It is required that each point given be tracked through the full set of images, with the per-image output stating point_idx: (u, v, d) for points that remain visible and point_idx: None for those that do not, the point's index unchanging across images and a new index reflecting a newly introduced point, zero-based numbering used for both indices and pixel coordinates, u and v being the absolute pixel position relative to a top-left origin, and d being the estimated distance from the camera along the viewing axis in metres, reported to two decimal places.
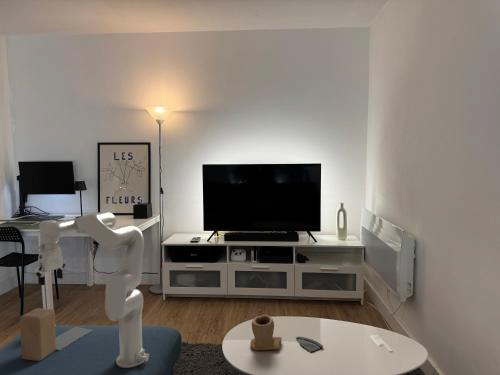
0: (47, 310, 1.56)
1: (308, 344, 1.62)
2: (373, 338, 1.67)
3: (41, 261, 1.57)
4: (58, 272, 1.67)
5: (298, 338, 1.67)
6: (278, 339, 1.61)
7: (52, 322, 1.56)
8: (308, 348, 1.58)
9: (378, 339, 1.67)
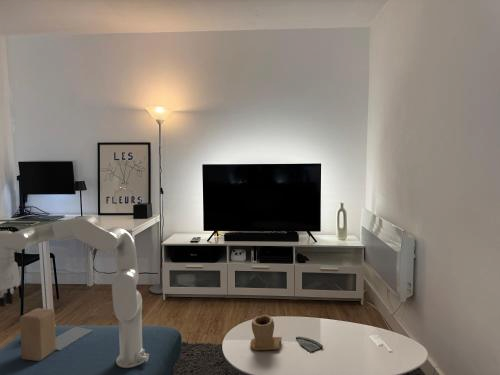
0: (47, 310, 1.56)
1: (308, 344, 1.62)
2: (372, 339, 1.67)
3: None
4: (7, 296, 1.41)
5: (298, 338, 1.67)
6: (278, 339, 1.61)
7: (52, 322, 1.56)
8: (308, 348, 1.58)
9: (378, 339, 1.67)
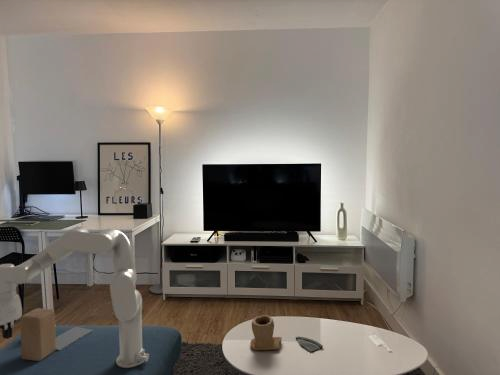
0: (47, 310, 1.56)
1: (308, 344, 1.62)
2: (372, 339, 1.67)
3: None
4: None
5: (298, 338, 1.67)
6: (278, 339, 1.61)
7: (52, 322, 1.56)
8: (308, 348, 1.58)
9: (378, 339, 1.67)
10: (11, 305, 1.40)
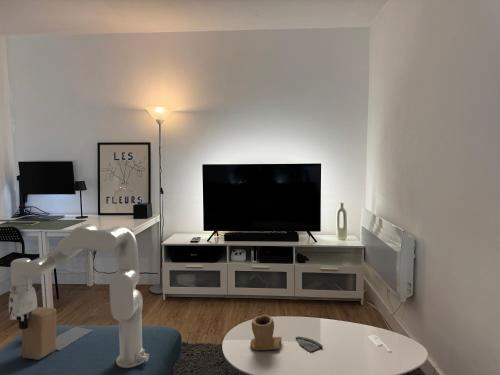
0: (49, 309, 1.57)
1: (308, 344, 1.62)
2: (372, 339, 1.67)
3: (12, 305, 1.42)
4: None
5: (297, 338, 1.67)
6: (278, 339, 1.61)
7: (53, 321, 1.57)
8: (308, 348, 1.58)
9: (377, 339, 1.67)
10: (27, 297, 1.47)
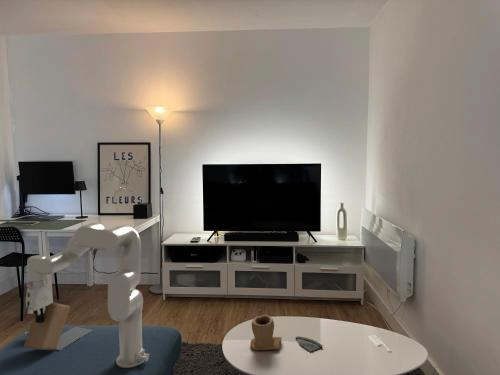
0: None
1: (307, 344, 1.62)
2: (371, 339, 1.67)
3: (29, 299, 1.50)
4: None
5: (297, 338, 1.67)
6: (278, 339, 1.61)
7: (64, 317, 1.63)
8: (308, 348, 1.58)
9: (377, 339, 1.67)
10: (43, 292, 1.54)
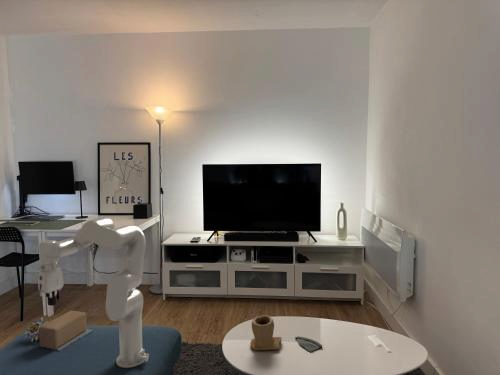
0: None
1: (307, 344, 1.62)
2: (371, 339, 1.67)
3: (41, 282, 1.55)
4: None
5: (297, 338, 1.67)
6: (278, 339, 1.61)
7: (78, 331, 1.72)
8: (307, 348, 1.58)
9: (376, 339, 1.66)
10: (55, 276, 1.59)
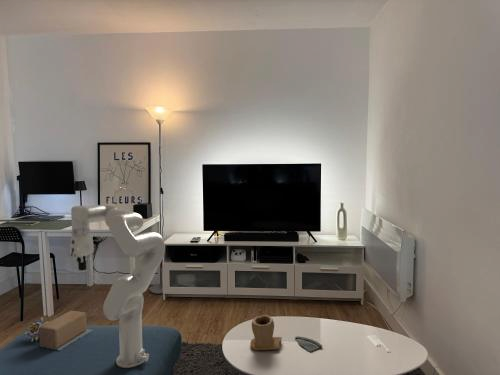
0: None
1: (307, 344, 1.62)
2: (371, 339, 1.67)
3: (74, 246, 1.56)
4: None
5: (297, 338, 1.67)
6: (278, 339, 1.61)
7: (78, 331, 1.72)
8: (307, 348, 1.58)
9: (376, 339, 1.66)
10: (86, 241, 1.60)
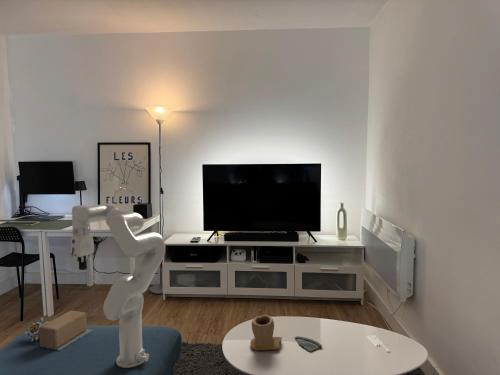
0: None
1: (307, 344, 1.62)
2: (370, 339, 1.67)
3: (74, 246, 1.56)
4: None
5: (297, 338, 1.67)
6: (278, 339, 1.61)
7: (78, 331, 1.72)
8: (307, 348, 1.58)
9: (376, 339, 1.66)
10: (87, 240, 1.60)
